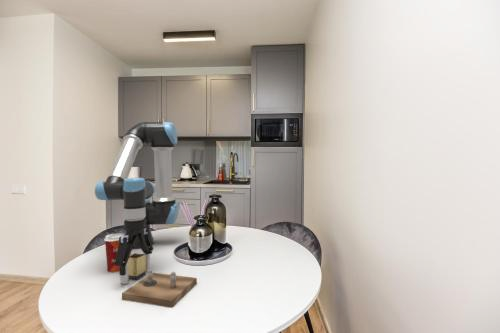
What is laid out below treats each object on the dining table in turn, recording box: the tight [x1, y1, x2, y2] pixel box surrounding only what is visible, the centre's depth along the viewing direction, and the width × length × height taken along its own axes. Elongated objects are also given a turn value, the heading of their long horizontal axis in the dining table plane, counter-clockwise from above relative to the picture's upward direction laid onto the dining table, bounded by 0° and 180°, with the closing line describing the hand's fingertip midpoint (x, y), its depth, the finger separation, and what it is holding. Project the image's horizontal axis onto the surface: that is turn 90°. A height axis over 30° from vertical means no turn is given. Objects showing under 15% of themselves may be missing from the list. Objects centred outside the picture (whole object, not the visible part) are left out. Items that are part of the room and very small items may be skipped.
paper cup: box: [103, 232, 125, 273], centre depth 107 cm, size 8×8×14 cm
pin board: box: [121, 268, 198, 308], centre depth 88 cm, size 16×18×7 cm
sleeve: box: [126, 253, 147, 281], centre depth 99 cm, size 5×5×8 cm
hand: (135, 276), depth 99 cm, fingers open, 11 cm apart
